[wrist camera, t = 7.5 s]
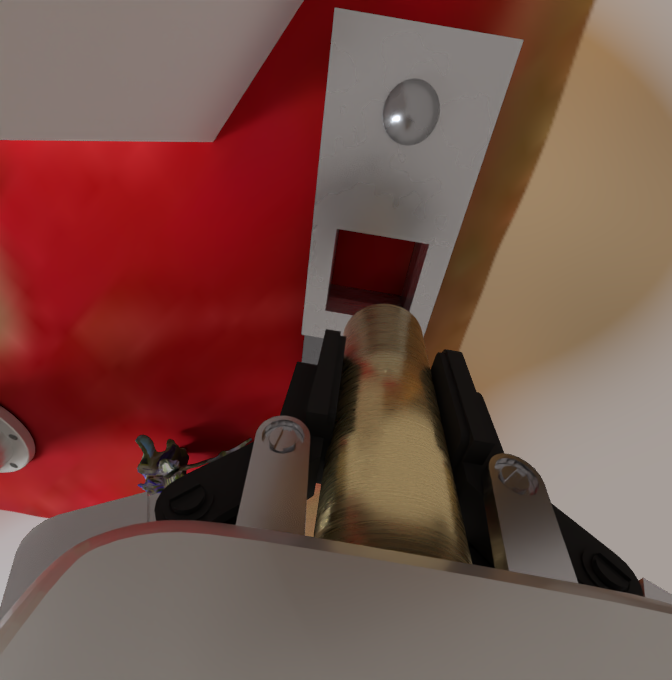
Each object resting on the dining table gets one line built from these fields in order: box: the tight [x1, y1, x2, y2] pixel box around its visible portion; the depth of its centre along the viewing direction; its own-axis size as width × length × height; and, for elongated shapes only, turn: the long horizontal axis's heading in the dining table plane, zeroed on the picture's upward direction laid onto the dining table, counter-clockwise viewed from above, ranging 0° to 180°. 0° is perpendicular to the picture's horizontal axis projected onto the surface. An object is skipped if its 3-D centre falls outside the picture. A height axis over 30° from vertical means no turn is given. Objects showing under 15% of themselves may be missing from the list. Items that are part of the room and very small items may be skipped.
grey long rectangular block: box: [301, 8, 524, 365], centre depth 21 cm, size 22×8×5 cm, turn 172°
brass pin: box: [314, 304, 472, 564], centre depth 10 cm, size 3×3×9 cm
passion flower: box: [135, 435, 252, 495], centre depth 32 cm, size 11×11×12 cm
